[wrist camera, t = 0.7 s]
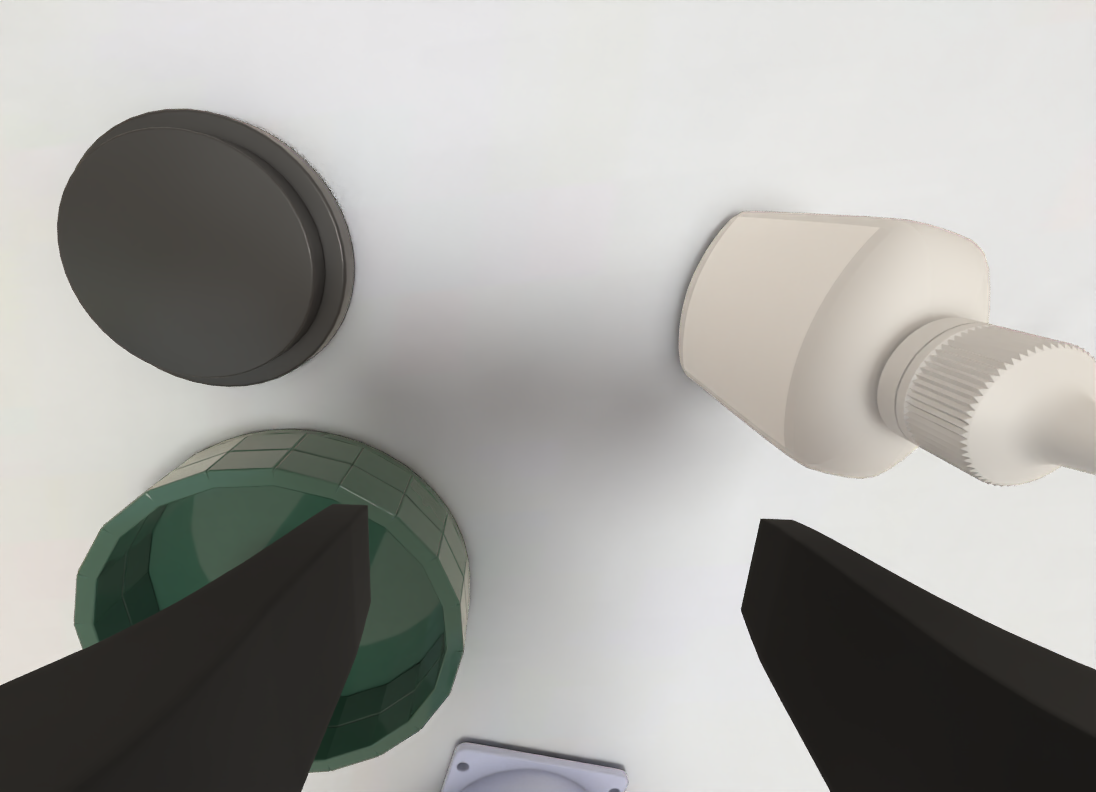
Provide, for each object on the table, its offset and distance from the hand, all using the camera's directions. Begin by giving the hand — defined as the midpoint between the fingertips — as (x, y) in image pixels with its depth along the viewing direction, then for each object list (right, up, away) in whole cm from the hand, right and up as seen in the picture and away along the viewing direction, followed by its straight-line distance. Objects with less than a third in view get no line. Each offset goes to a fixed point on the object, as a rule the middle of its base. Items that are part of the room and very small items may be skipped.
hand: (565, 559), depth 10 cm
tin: (-9, -4, +11) cm, 15 cm away
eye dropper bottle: (+6, +6, +9) cm, 12 cm away
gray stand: (-10, +7, +7) cm, 15 cm away
